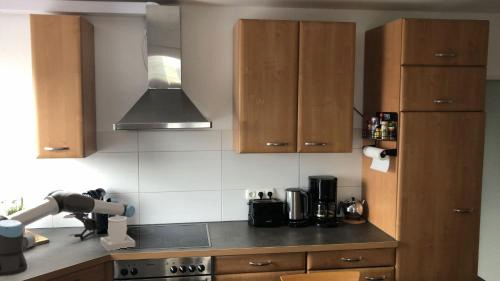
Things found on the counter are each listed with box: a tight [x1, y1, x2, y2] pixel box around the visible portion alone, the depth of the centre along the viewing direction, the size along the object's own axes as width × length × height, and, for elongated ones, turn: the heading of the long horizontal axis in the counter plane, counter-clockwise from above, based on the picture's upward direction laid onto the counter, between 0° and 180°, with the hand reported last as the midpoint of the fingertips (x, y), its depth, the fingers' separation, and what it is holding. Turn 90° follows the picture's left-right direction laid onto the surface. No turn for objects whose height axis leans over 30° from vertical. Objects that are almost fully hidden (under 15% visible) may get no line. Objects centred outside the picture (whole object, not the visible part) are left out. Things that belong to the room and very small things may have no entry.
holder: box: [99, 233, 136, 252], centre depth 252 cm, size 15×16×4 cm
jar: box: [107, 215, 128, 244], centre depth 251 cm, size 11×10×15 cm
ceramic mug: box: [23, 233, 37, 251], centre depth 243 cm, size 11×8×8 cm
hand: (67, 225), depth 256 cm, fingers open, 11 cm apart
